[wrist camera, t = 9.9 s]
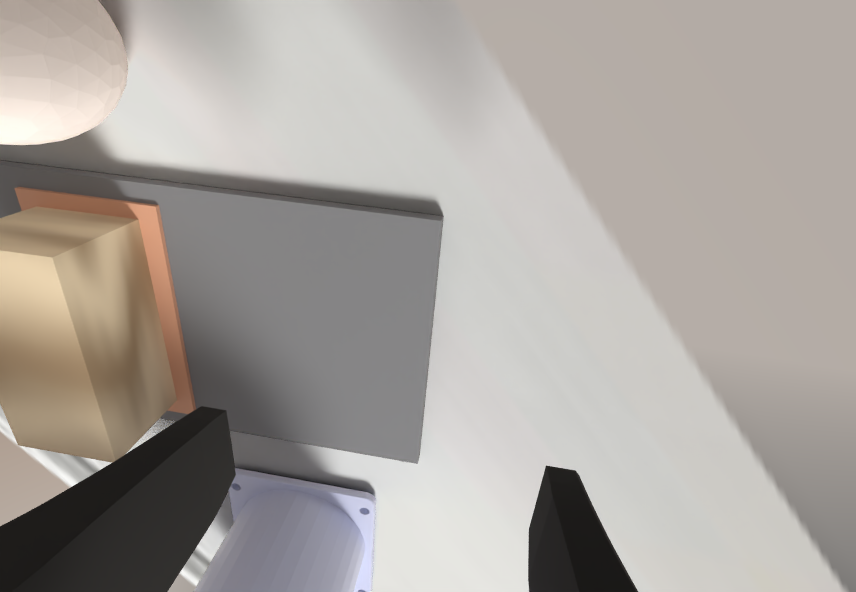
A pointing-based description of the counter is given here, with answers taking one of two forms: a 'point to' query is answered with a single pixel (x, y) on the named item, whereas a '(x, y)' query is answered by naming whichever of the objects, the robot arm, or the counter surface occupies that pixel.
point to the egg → (57, 69)
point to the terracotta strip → (157, 267)
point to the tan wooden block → (79, 333)
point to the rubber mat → (289, 306)
